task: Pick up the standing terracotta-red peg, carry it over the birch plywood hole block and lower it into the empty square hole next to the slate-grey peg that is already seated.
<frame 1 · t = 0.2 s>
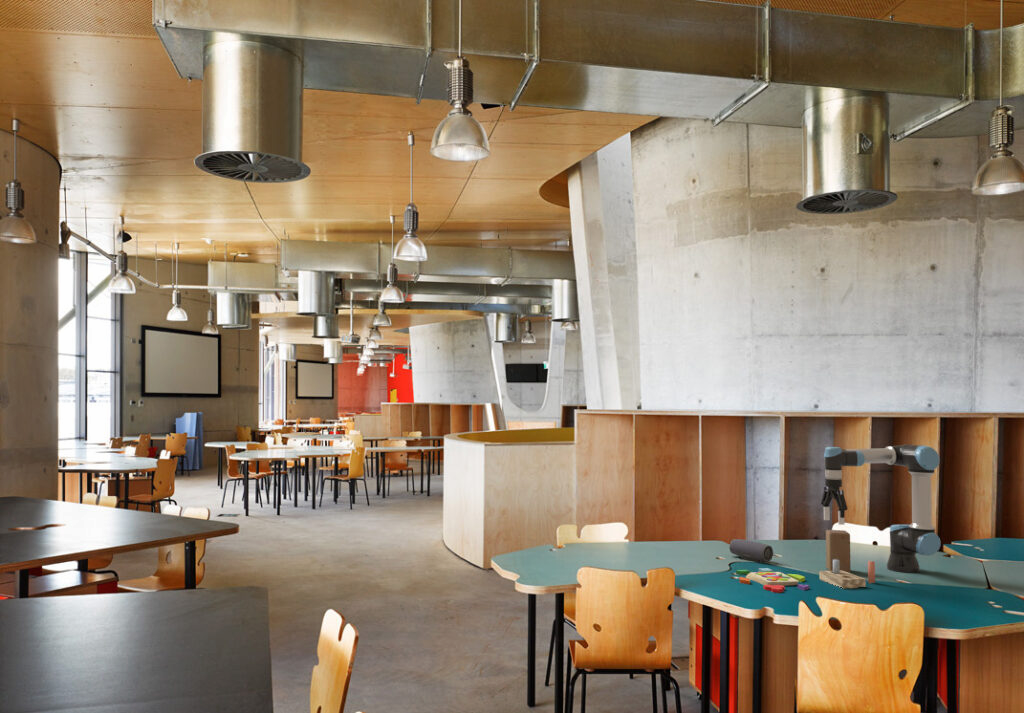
hand: (834, 522, 371), 27 cm above the table, fingers open, 13 cm apart
grey peg: (836, 581, 364), resting in hole block
bluetooth speaker: (751, 560, 412), on the table
wooden block: (838, 571, 387), on the table
red peg: (871, 582, 361), on the table
pattern blocks set: (772, 582, 362), on the table
hole block: (842, 583, 360), on the table
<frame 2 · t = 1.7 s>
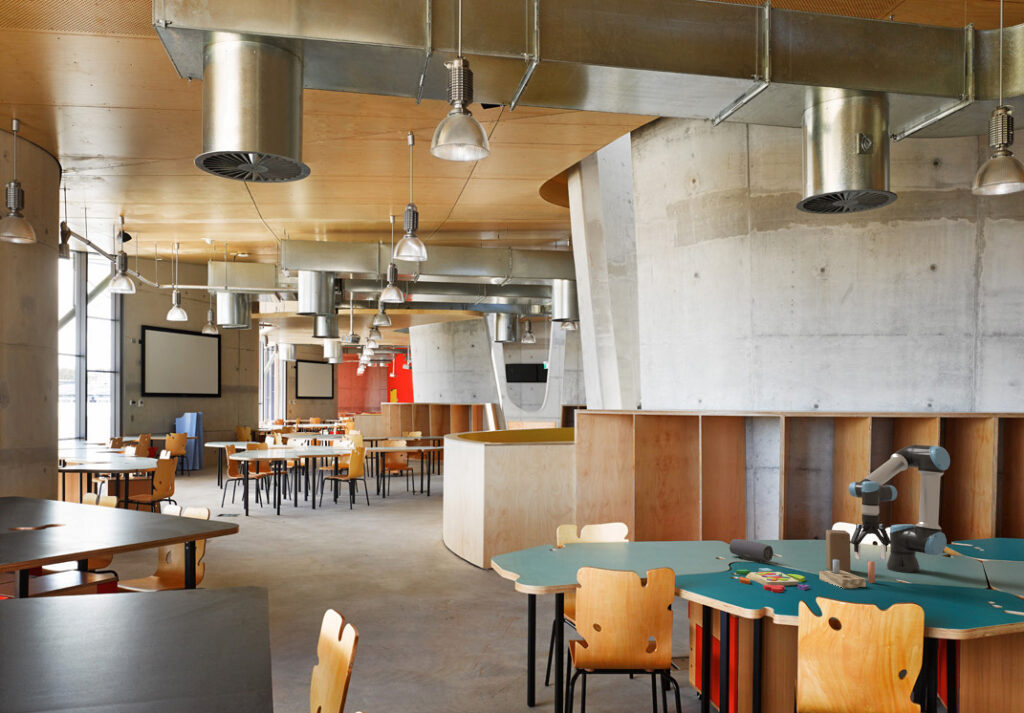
hand: (870, 559, 362), 11 cm above the table, fingers open, 13 cm apart
nothing on the table moved.
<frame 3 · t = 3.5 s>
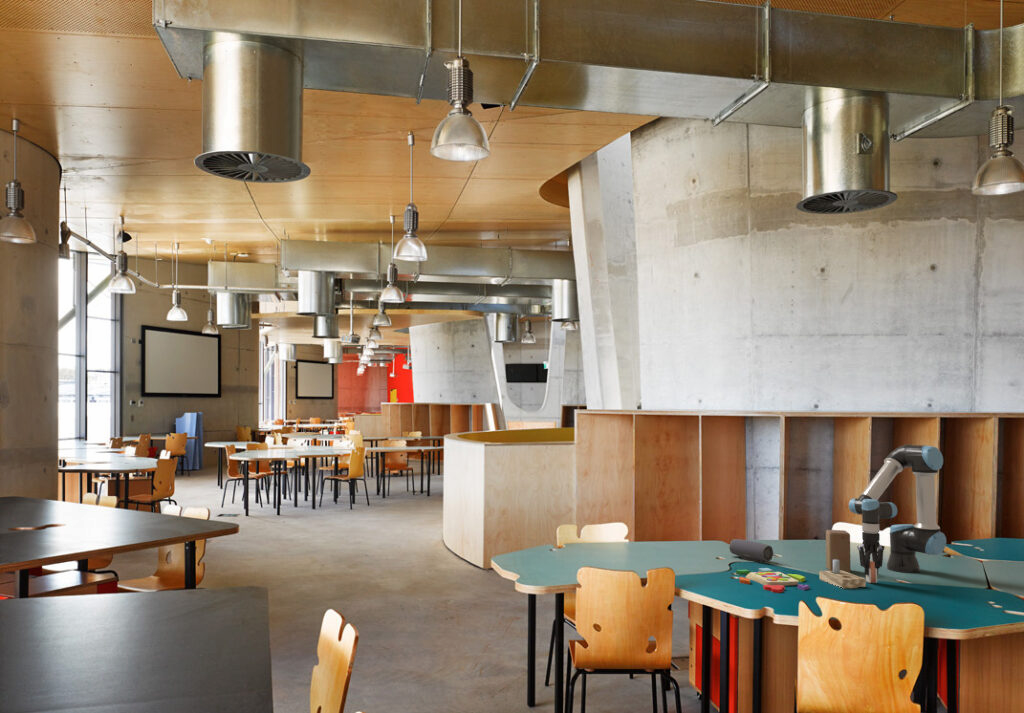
hand: (871, 581, 361), 1 cm above the table, fingers closed on red peg, 3 cm apart
red peg: (871, 582, 361), on the table, touching gripper
everything else where it was.
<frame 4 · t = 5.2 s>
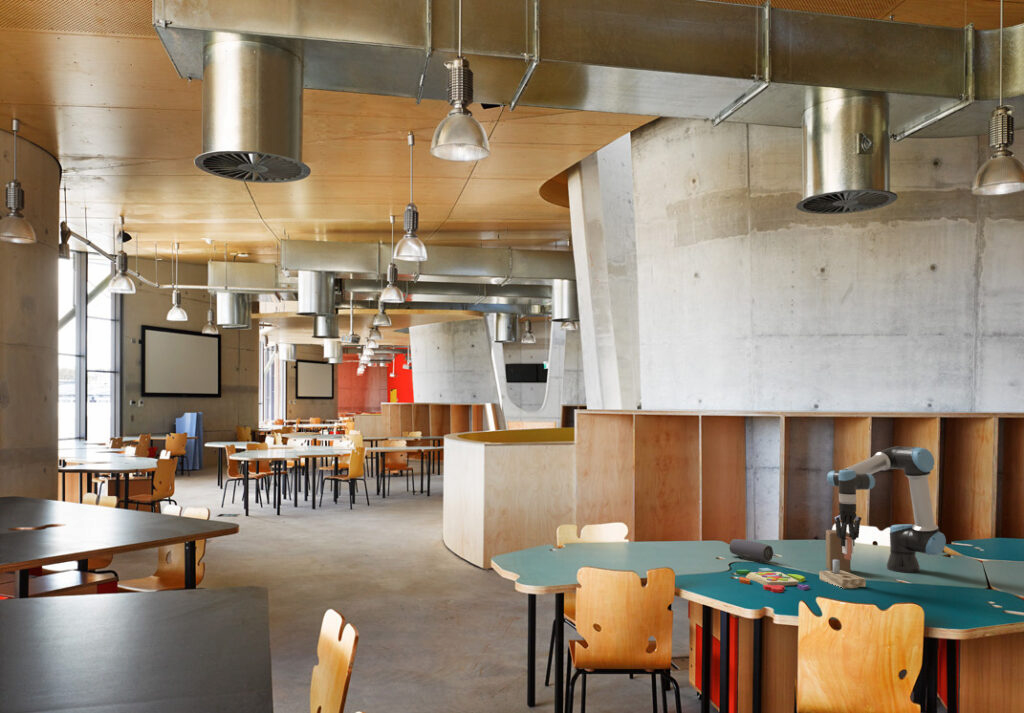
hand: (847, 553, 356), 15 cm above the table, fingers closed on red peg, 2 cm apart
red peg: (847, 559, 356), point 12 cm above the table, touching gripper
everything else where it was.
when the fingers open (5 cm above the table, at t = 7.2 s): red peg drops 2 cm, resting in hole block.
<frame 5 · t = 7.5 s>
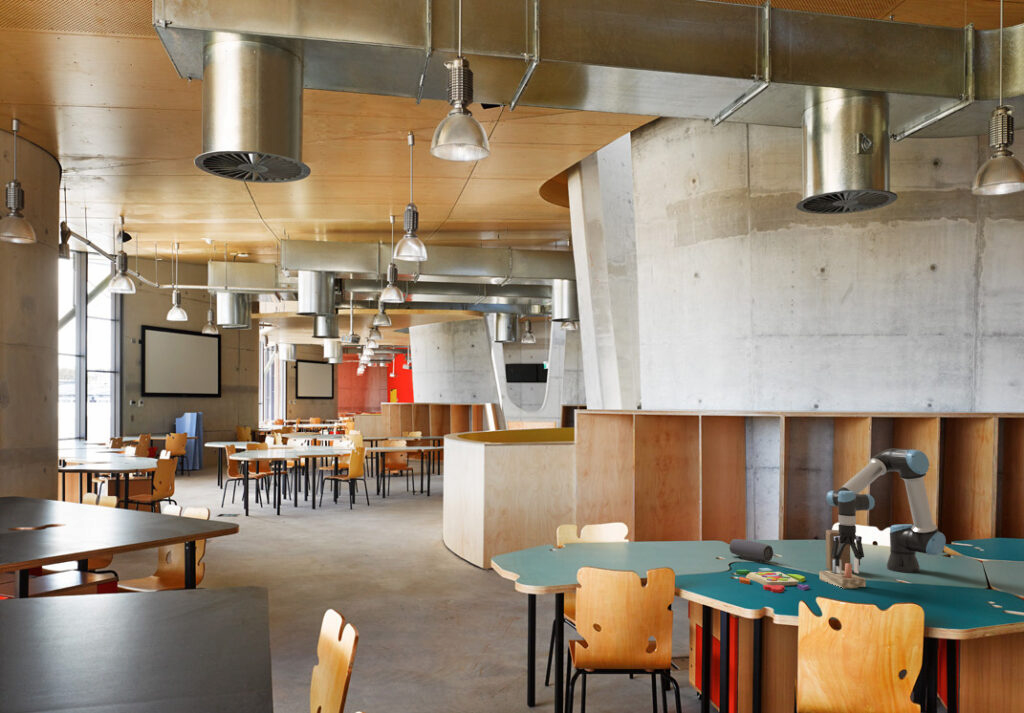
hand: (847, 572, 356), 6 cm above the table, fingers open, 8 cm apart
red peg: (847, 585, 355), resting in hole block
everything else where it was.
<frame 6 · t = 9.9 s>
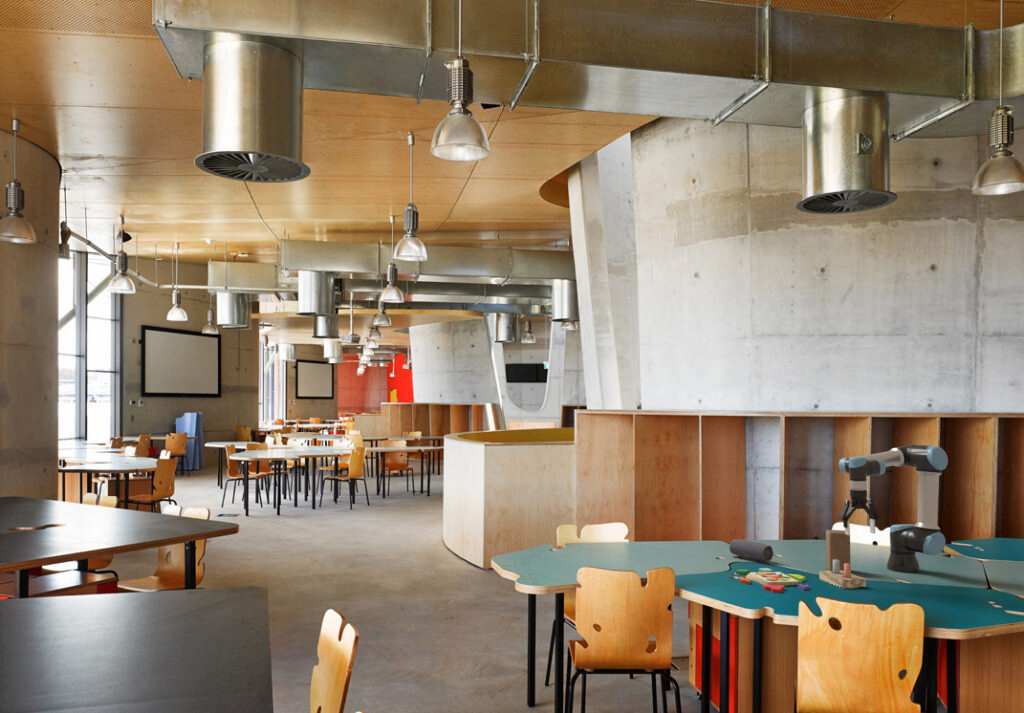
hand: (860, 533, 363), 23 cm above the table, fingers open, 13 cm apart
nothing on the table moved.
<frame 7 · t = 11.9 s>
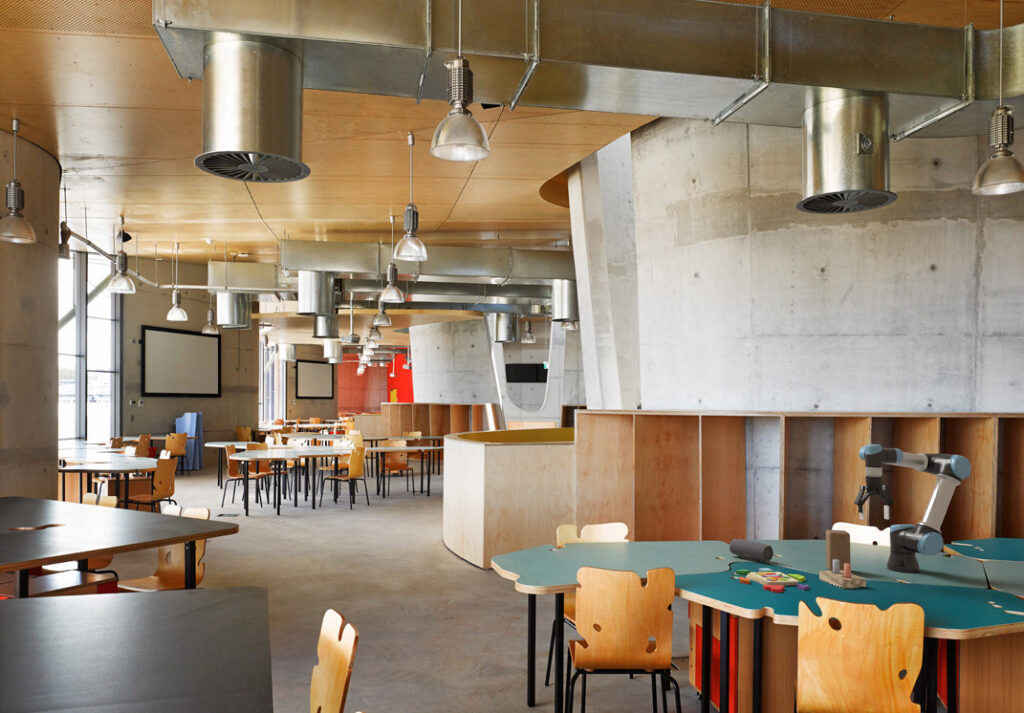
hand: (874, 519, 372), 29 cm above the table, fingers open, 13 cm apart
nothing on the table moved.
at the end: red peg 0.2 cm from the target spot on the hole block, point 0.0 cm above the hole block's base; red peg tilted 0°; the gripper is holding nothing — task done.
